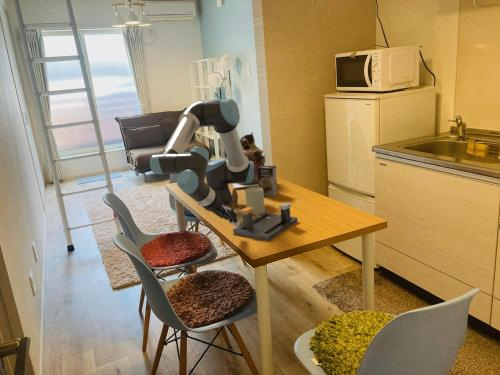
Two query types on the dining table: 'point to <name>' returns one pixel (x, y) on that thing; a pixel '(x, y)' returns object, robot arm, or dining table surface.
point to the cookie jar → (251, 158)
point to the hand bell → (237, 211)
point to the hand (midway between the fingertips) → (237, 224)
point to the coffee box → (267, 180)
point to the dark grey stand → (268, 224)
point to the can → (255, 199)
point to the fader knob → (247, 217)
